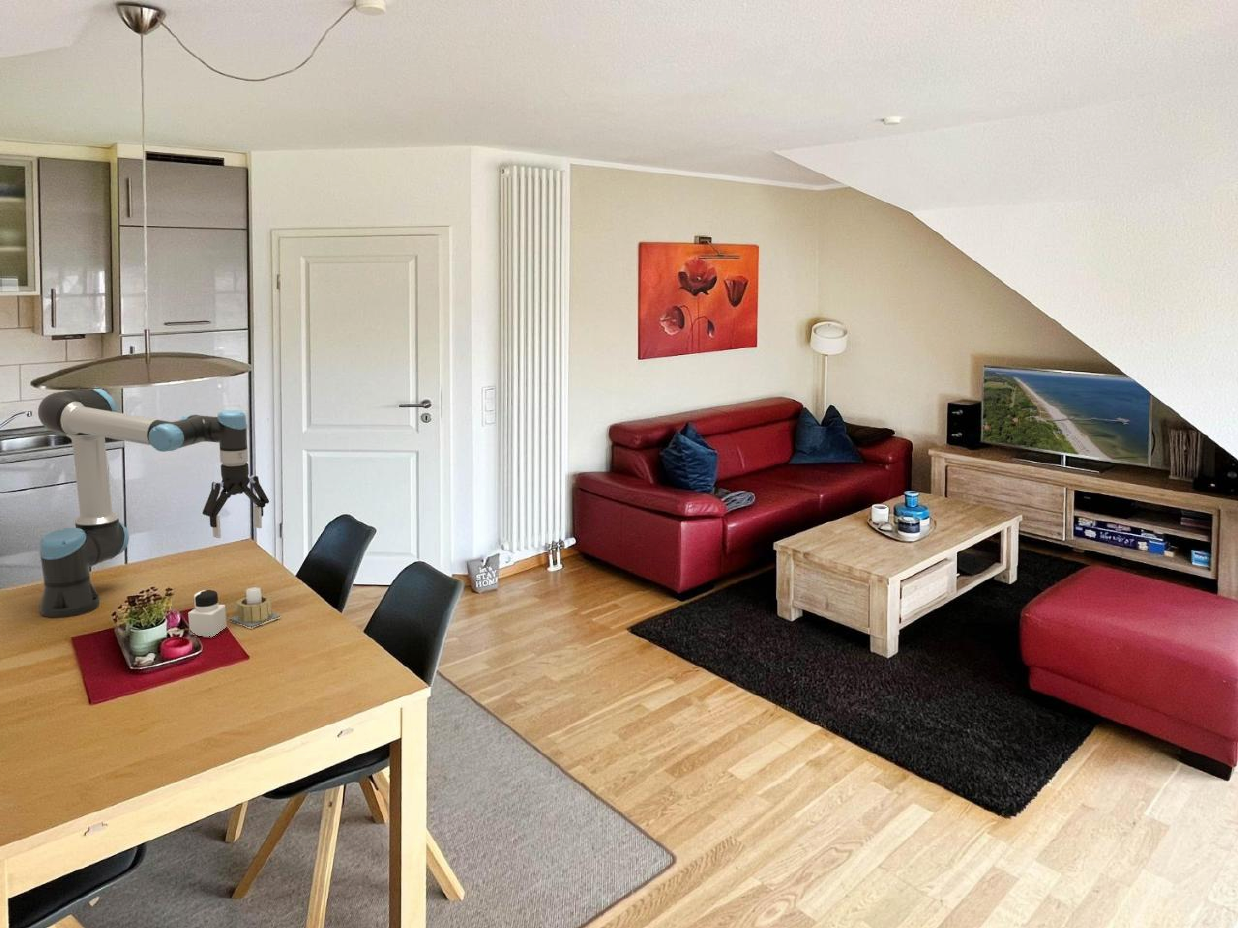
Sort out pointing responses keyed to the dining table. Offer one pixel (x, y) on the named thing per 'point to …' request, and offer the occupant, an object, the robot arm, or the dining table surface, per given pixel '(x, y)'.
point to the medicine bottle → (207, 614)
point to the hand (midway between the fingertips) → (238, 532)
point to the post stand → (253, 599)
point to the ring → (254, 610)
